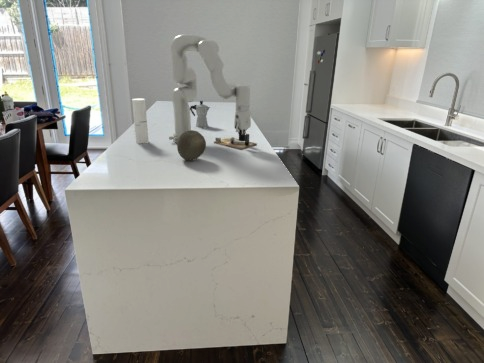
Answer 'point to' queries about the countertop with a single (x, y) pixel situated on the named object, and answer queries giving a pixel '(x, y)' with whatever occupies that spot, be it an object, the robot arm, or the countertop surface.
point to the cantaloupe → (191, 145)
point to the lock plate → (237, 146)
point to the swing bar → (241, 141)
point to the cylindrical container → (140, 120)
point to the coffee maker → (200, 114)
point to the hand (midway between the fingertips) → (241, 140)
